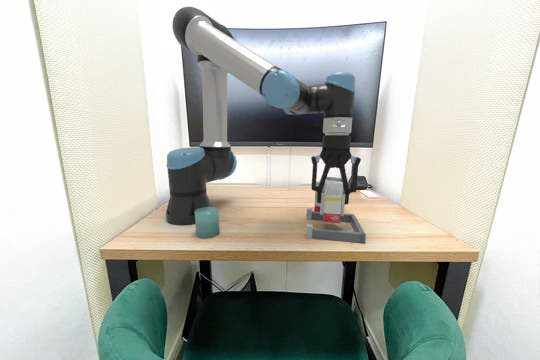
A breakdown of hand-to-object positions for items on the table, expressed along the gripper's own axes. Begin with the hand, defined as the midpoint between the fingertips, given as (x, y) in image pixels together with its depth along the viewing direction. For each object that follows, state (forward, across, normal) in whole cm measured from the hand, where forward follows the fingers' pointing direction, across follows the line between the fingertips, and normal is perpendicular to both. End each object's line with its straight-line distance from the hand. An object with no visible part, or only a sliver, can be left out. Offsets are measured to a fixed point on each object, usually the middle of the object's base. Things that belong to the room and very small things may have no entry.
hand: (331, 213), depth 63 cm
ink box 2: (+1, 0, 0) cm, 1 cm away
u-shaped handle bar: (+5, +1, 0) cm, 5 cm away
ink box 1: (+5, +1, +16) cm, 17 cm away
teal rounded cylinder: (+5, -35, -10) cm, 37 cm away
